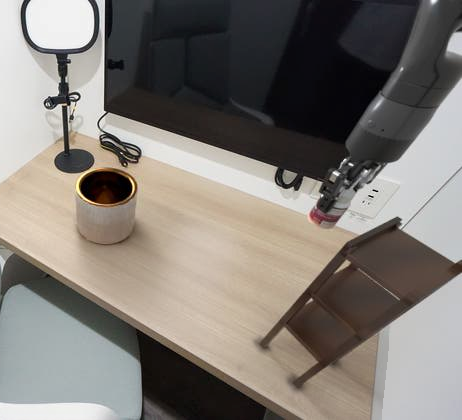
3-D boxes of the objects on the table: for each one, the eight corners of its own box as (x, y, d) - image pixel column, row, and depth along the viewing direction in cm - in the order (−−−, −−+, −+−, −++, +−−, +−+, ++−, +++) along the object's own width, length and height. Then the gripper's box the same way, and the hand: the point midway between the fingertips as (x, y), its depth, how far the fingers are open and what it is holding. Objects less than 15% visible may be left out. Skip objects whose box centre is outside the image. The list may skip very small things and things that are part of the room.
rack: (336, 361, 68) (476, 262, 43) (296, 388, 64) (424, 296, 39) (296, 321, 74) (397, 216, 49) (258, 343, 71) (346, 241, 46)
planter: (143, 217, 100) (149, 178, 89) (116, 255, 89) (119, 216, 78) (95, 198, 107) (95, 160, 96) (65, 231, 96) (61, 192, 85)
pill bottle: (313, 209, 66) (334, 178, 60) (337, 222, 63) (362, 190, 57) (302, 220, 63) (323, 188, 58) (327, 233, 61) (352, 202, 55)
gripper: (385, 149, 44) (324, 231, 56) (444, 125, 48) (375, 206, 60) (334, 125, 49) (288, 205, 61) (391, 106, 53) (337, 184, 65)
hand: (331, 205), depth 60 cm, fingers closed on pill bottle, 4 cm apart
